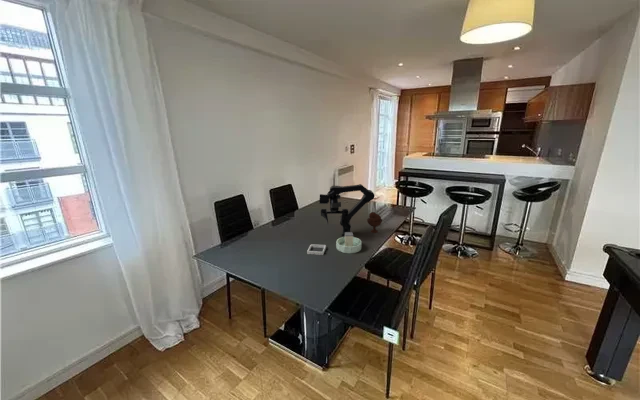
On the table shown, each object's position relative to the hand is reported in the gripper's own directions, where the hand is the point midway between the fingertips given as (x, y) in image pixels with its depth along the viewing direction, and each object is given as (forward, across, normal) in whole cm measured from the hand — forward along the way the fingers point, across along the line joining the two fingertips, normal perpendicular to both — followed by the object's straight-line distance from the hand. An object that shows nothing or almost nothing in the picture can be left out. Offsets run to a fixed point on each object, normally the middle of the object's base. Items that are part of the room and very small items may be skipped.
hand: (334, 223), depth 176 cm
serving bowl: (+15, +9, +4) cm, 18 cm away
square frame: (+18, -12, +2) cm, 22 cm away
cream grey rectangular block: (+15, +9, +3) cm, 18 cm away
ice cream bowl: (-3, +30, +22) cm, 37 cm away
